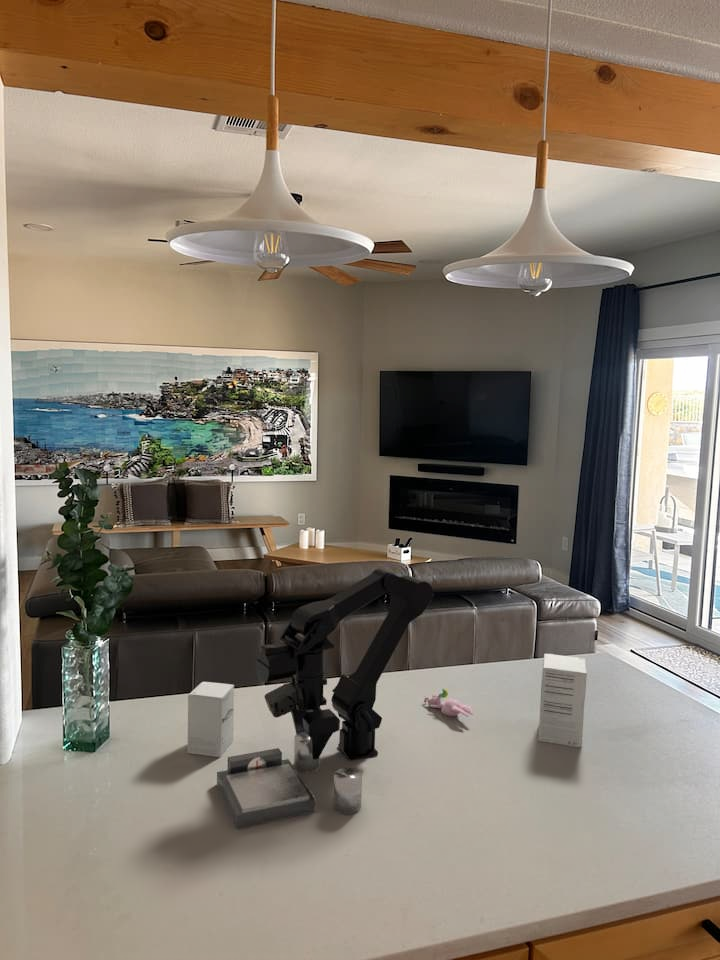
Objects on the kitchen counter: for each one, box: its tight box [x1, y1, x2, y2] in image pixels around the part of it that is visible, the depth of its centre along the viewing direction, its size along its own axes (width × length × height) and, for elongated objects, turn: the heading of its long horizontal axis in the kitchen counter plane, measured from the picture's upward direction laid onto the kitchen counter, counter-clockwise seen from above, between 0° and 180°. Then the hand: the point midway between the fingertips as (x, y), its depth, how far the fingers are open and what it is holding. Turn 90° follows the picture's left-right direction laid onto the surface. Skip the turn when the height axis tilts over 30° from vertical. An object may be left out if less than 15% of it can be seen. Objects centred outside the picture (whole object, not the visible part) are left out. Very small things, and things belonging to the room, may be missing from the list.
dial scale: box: [216, 747, 316, 829], centre depth 130 cm, size 14×15×5 cm
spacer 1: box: [293, 732, 320, 774], centre depth 142 cm, size 5×5×6 cm
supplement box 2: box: [538, 653, 588, 748], centre depth 158 cm, size 10×9×17 cm
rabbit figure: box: [423, 688, 474, 717], centre depth 168 cm, size 6×6×15 cm
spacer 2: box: [332, 767, 363, 816], centre depth 128 cm, size 5×5×6 cm
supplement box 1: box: [186, 681, 235, 758], centre depth 148 cm, size 7×7×13 cm
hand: (307, 747), depth 142 cm, fingers open, 9 cm apart
